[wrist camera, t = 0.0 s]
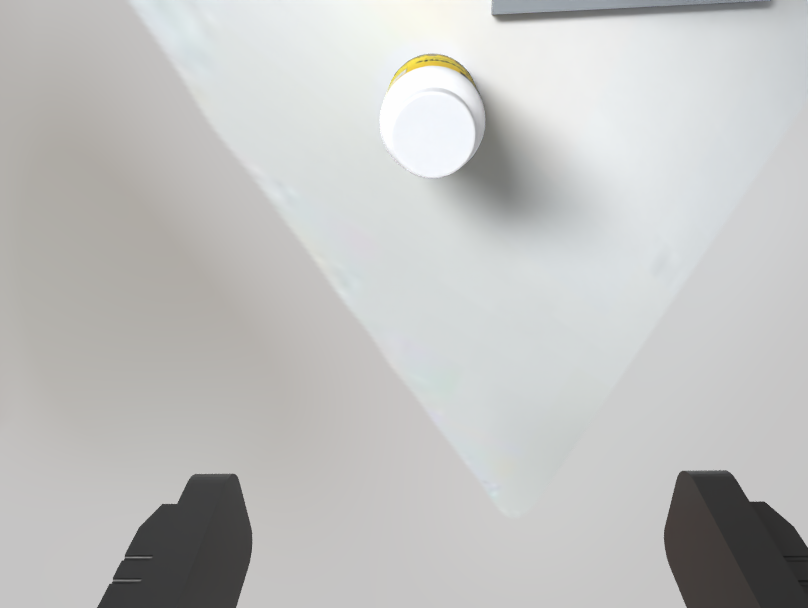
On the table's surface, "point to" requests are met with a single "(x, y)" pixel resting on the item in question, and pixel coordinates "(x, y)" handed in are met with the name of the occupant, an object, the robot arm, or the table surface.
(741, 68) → the table surface
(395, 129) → the supplement bottle
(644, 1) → the letter board
